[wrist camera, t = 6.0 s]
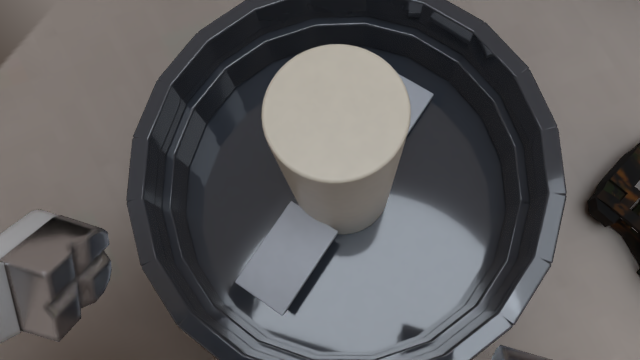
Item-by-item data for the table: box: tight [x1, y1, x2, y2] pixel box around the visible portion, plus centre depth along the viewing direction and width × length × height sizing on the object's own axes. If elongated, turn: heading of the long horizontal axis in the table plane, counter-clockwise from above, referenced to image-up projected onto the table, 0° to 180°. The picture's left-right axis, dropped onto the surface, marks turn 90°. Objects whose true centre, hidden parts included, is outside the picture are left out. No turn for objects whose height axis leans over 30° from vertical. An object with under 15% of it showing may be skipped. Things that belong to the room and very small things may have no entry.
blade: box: [235, 44, 434, 316], centre depth 16 cm, size 10×4×8 cm, turn 146°
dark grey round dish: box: [126, 0, 566, 360], centre depth 18 cm, size 14×14×4 cm
